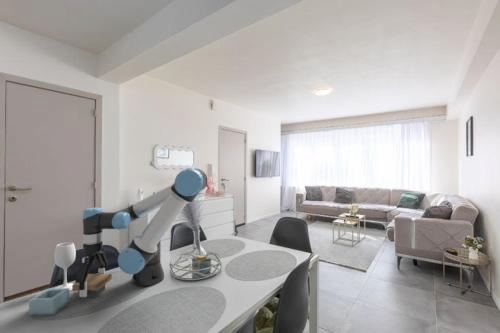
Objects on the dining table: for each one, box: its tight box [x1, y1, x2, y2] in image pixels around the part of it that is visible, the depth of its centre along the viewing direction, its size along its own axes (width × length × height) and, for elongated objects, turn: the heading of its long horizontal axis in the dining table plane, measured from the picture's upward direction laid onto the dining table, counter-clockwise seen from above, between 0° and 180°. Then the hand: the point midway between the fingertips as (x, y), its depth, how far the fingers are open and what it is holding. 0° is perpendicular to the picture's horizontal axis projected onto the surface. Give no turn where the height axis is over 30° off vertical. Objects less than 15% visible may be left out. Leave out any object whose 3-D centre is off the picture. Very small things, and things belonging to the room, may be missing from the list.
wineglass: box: [53, 241, 77, 292], centre depth 117 cm, size 9×9×21 cm
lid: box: [71, 273, 113, 292], centre depth 113 cm, size 11×11×2 cm
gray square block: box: [86, 284, 106, 298], centre depth 113 cm, size 7×7×4 cm
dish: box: [28, 288, 70, 316], centre depth 100 cm, size 9×9×6 cm
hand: (93, 288), depth 113 cm, fingers open, 13 cm apart
